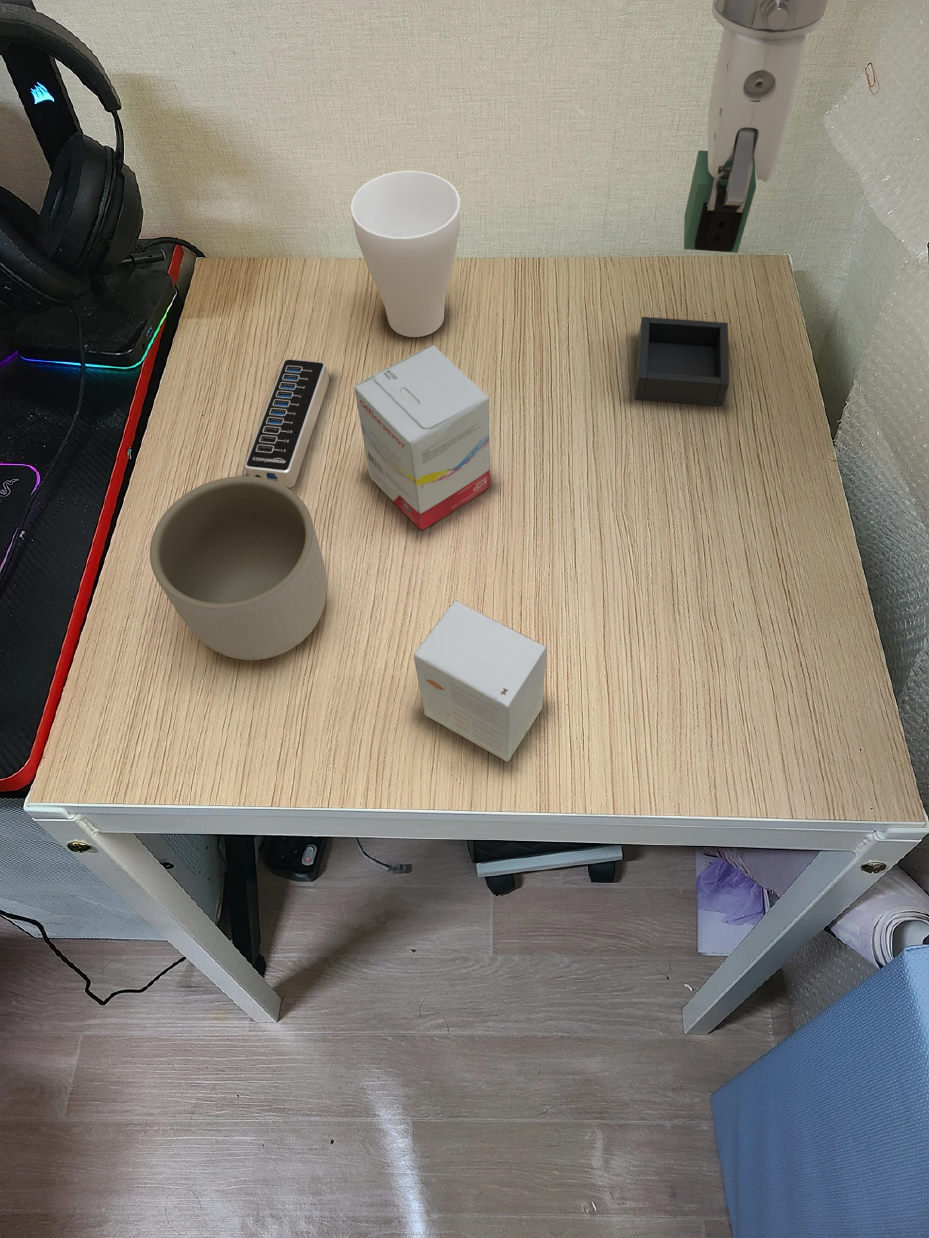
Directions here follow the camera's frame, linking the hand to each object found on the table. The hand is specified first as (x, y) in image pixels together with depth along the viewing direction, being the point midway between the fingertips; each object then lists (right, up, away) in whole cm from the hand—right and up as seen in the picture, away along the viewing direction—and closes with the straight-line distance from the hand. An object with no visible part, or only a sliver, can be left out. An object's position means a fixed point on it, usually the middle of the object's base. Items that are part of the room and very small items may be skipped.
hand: (713, 226), depth 74 cm
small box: (-20, -41, -4) cm, 46 cm away
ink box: (-25, -21, +8) cm, 33 cm away
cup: (-26, -1, +20) cm, 33 cm away
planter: (-39, -33, +1) cm, 51 cm away
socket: (+1, -8, +14) cm, 17 cm away
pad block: (0, 0, +1) cm, 1 cm away
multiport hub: (-38, -15, +12) cm, 43 cm away
